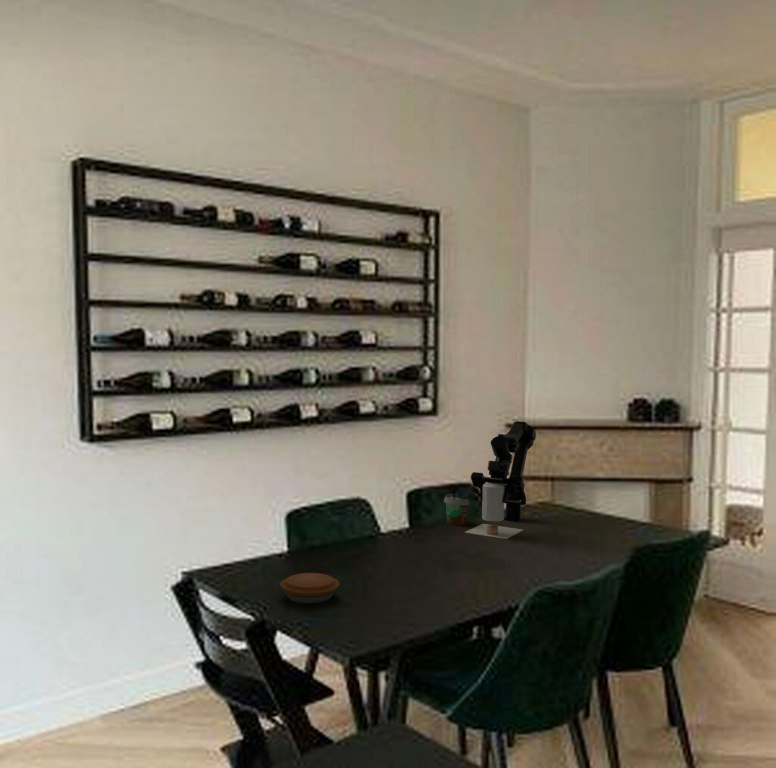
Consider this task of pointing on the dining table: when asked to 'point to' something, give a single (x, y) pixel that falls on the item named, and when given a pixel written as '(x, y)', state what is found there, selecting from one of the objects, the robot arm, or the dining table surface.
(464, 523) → the food container
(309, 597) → the pie
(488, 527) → the brown short rounded piece
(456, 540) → the dining table surface
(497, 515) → the cover cup
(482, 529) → the placemat
